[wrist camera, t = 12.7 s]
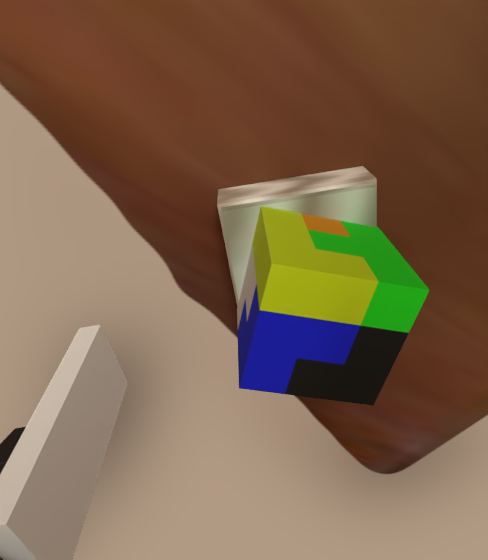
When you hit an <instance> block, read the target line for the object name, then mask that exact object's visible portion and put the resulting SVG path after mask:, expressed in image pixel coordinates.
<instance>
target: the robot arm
mask: <svg viewBox="0 0 488 560" xmlns="http://www.w3.org/2000/svg"><path fill="white" fill-rule="evenodd" d="M127 384H128V382H127V380H126V378H125V375H124V373H123V371H122V369H121V367H120V365H119V363H118V361H117V358H116V356H115V354H114V352H113V350H112V348H111V346H110V343H109V341H108V339H107V337H106V335H105V333H104V331H103V328H102V327H101V325H95V326H90V327H85V328H79V330H78V332H77V333H76V335H75V337H74V339H73V341H72V343H71V345H70V347H69V348H68V350H67V352H66V354H65V356H64V358H63V360H62V361H61V363H60V365H59V367H58V369H57V371H56V372H55V374H54V376H53V378H52V380H51V382H50V384H49V385H48V387H47V389H46V391H45V393H44V395H43V397H42V398H41V400H40V402H39V404H38V406H37V407H36V409H35V411H34V413H33V415H32V417H31V419H30V421H29V422H28V424H27V426H26V427H22V428H17V429H14V430H13V431H12V432H11V434H9V436H8V437H7V438H6V439H5V440H4V441H3V442H2V443H1V444H0V560H72V559H73V556H74V552H75V549H76V546H77V543H78V540H79V536H80V533H81V530H82V527H83V524H84V521H85V517H86V514H87V511H88V508H89V505H90V502H91V499H92V495H93V492H94V489H95V486H96V483H97V480H98V476H99V473H100V470H101V467H102V464H103V460H104V457H105V454H106V451H107V448H108V444H109V441H110V438H111V435H112V432H113V429H114V426H115V422H116V419H117V416H118V413H119V410H120V407H121V403H122V400H123V397H124V394H125V390H126V388H127Z"/></svg>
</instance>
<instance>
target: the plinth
mask: <svg viewBox="0 0 488 560" xmlns="http://www.w3.org/2000/svg"><path fill="white" fill-rule="evenodd" d="M217 206H218V211H219V216H220V222H221V227H222V232H223V237H224V242H225V247H226V252H227V257H228V262H229V267H230V272H231V277H232V282H233V287H234V292H235V297H236V302H237V307H238V303H239V299H240V294H241V290H242V286H243V281H244V277H245V273H246V268H247V264H248V260H249V255H250V251H251V247H252V242H253V238H254V234H255V229H256V225H257V220H258V216H259V212H260V207H261V206H263V207H269V208H274V209H280V210H285V211H291V212H296V213H301V214H307V215H312V216H318V217H323V218H329V219H334V220H340V221H345V222H350V223H356V224H361V225H367V226H372V227H377V178H375V177H374V176H373V175H372V174H371V173H370V172H369V171H368V170H367V169H366V168H364V167H363V166H360V167H354V168H347V169H341V170H335V171H329V172H323V173H317V174H311V175H305V176H298V177H292V178H286V179H280V180H274V181H268V182H262V183H256V184H249V185H243V186H237V187H231V188H225V189H219V190H218V200H217Z"/></svg>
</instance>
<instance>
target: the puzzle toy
mask: <svg viewBox="0 0 488 560" xmlns="http://www.w3.org/2000/svg"><path fill="white" fill-rule="evenodd" d="M428 292H429V289H428V287H427V286H426V285H425V284H424V283H423V281H422V280H421V279H420V278H419V276H418V275H417V274H416V273H415V271H414V270H413V269H412V268H411V267H410V265H409V264H408V263H407V262H406V260H405V259H404V258H403V257H402V256H401V254H400V253H399V252H398V251H397V249H396V248H395V247H394V246H393V245H392V243H391V242H390V241H389V240H388V238H387V237H386V236H385V235H384V233H383V232H382V231H381V230H380V229H379V228H378V227H372V226H367V225H361V224H356V223H350V222H345V221H340V220H334V219H329V218H323V217H318V216H312V215H307V214H301V213H296V212H291V211H285V210H280V209H274V208H269V207H263V206H261V207H260V212H259V216H258V220H257V225H256V229H255V234H254V238H253V242H252V247H251V251H250V255H249V260H248V264H247V268H246V273H245V277H244V281H243V286H242V290H241V294H240V299H239V303H238V307H237V323H238V361H239V388H242V389H250V390H258V391H266V392H274V393H281V394H289V395H297V396H305V397H313V398H320V399H328V400H336V401H344V402H352V403H360V404H367V405H374V403H375V401H376V399H377V396H378V394H379V392H380V390H381V388H382V386H383V384H384V382H385V380H386V378H387V376H388V374H389V372H390V370H391V368H392V366H393V364H394V362H395V360H396V358H397V356H398V354H399V352H400V350H401V347H402V345H403V343H404V341H405V339H406V337H407V335H408V333H409V331H410V329H411V327H412V325H413V323H414V321H415V319H416V317H417V315H418V313H419V311H420V309H421V307H422V305H423V303H424V301H425V298H426V296H427V294H428Z"/></svg>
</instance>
